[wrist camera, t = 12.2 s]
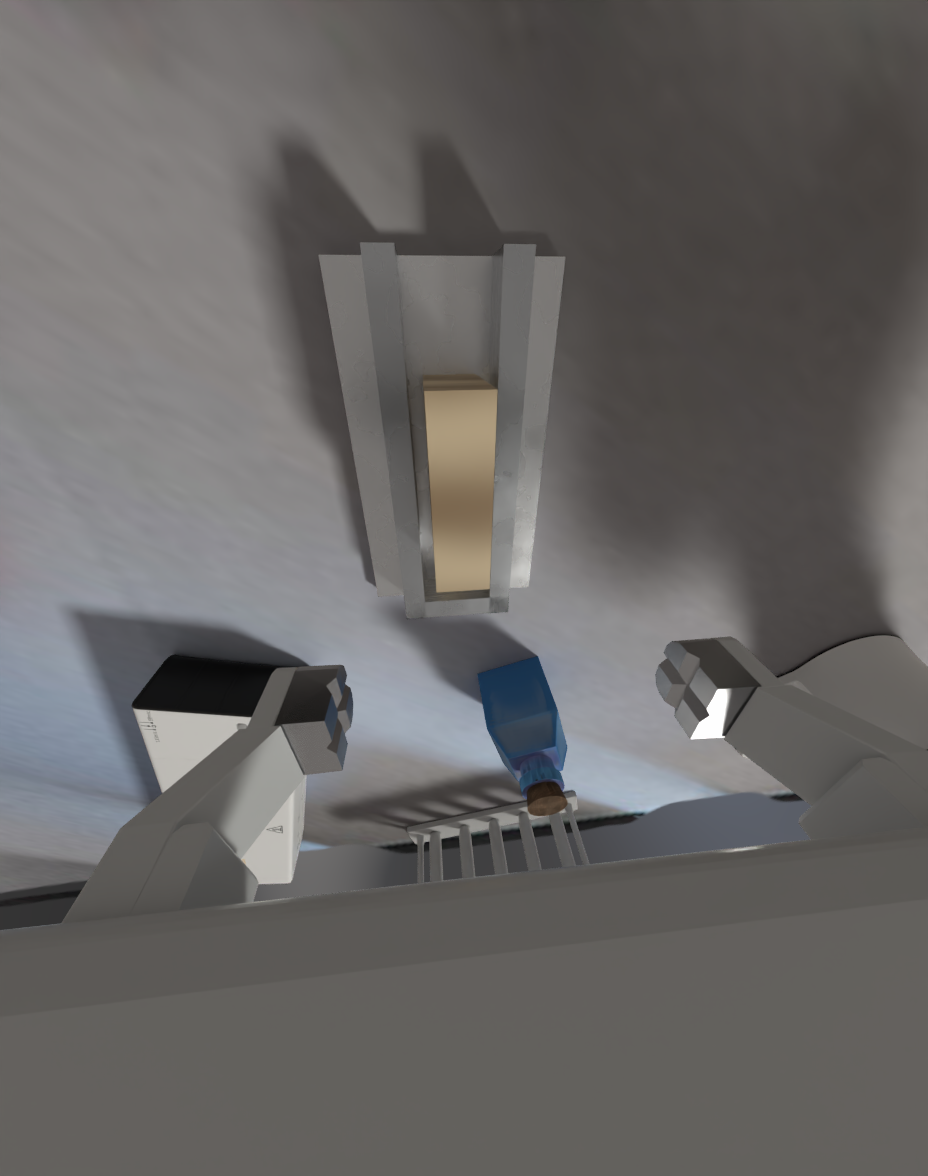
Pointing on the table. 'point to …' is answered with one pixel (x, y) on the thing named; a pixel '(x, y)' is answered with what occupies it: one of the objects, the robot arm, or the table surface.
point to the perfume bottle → (527, 732)
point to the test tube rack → (494, 838)
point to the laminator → (215, 742)
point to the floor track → (396, 399)
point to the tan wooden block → (461, 477)
